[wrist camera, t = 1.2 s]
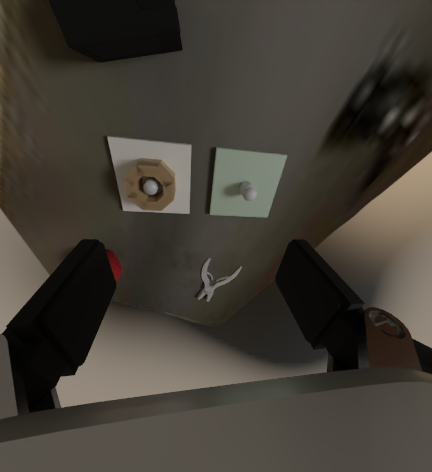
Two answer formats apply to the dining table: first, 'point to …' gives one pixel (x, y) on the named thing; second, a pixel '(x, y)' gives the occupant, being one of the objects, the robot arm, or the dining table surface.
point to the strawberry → (114, 264)
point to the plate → (245, 182)
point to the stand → (173, 156)
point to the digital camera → (119, 27)
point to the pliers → (210, 289)
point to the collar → (137, 191)
